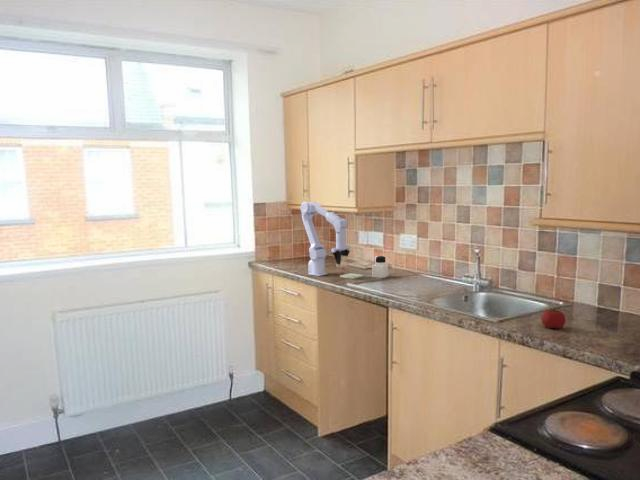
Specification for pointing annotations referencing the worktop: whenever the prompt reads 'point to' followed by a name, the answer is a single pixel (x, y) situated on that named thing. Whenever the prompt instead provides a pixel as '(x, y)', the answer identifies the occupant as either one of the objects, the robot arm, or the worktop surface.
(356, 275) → the tile
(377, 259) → the medicine bottle
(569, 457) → the worktop surface
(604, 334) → the worktop surface
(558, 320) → the tomato
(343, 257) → the beech block
